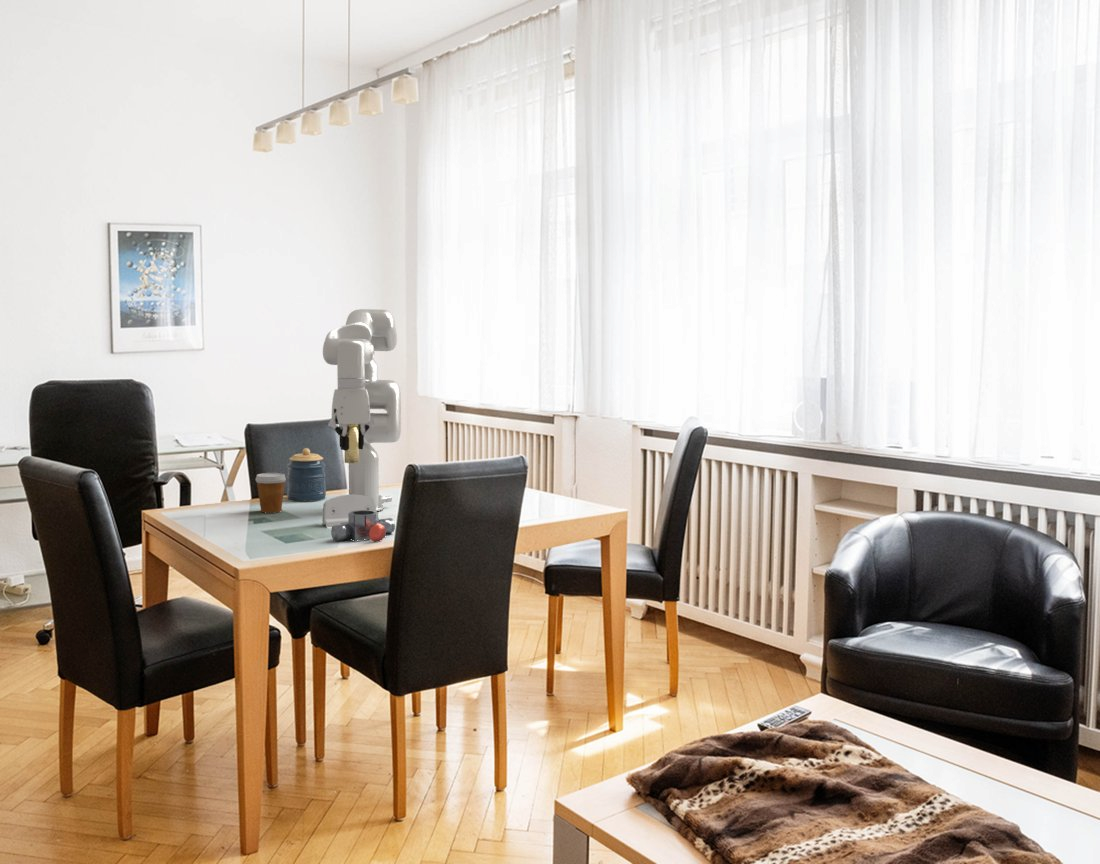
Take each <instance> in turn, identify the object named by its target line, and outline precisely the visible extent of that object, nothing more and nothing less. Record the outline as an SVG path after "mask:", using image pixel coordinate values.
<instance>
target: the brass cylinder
mask: <svg viewBox="0 0 1100 864" xmlns="http://www.w3.org/2000/svg"><path fill="white" fill-rule="evenodd" d="M346 436H347V437H348V450H346V451H345V450H344V463H345V464H349V463H359V425H358V424H351V425H348V426H347V432H346Z"/></svg>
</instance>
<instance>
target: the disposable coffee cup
mask: <svg viewBox="0 0 1100 864" xmlns="http://www.w3.org/2000/svg"><path fill="white" fill-rule="evenodd" d="M285 475H286V474H285V473H282V472H280V473H279V472H266V473H265V472H263V473H258V474H256V477H255V479H254V480H255V482H256V485H257V492H258V499H259V507H260V512H261V513H262V512H266V513H265V514H267V513H273V514H275V513H274V512H279V513H281V512H282V509H283V508H282V507H283V500H284V492H285V491H284V490H285V483H286V480H287V478H286V476H285ZM280 511H281V512H280Z"/></svg>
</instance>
